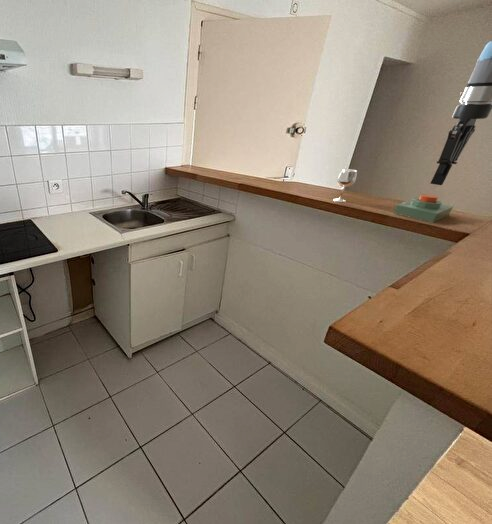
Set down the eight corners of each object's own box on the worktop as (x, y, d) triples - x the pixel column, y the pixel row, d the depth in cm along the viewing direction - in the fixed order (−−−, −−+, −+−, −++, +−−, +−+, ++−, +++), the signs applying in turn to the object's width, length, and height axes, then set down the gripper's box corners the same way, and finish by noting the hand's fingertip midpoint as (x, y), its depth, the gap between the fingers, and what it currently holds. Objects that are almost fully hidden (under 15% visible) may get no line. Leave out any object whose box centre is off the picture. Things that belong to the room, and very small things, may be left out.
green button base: (410, 207, 107) (416, 194, 104) (448, 215, 99) (456, 201, 96) (392, 213, 101) (399, 199, 98) (432, 222, 92) (440, 208, 90)
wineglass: (335, 202, 112) (346, 171, 106) (328, 198, 117) (338, 168, 111) (350, 202, 112) (362, 171, 106) (342, 198, 117) (353, 168, 111)
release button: (421, 199, 100) (424, 193, 99) (437, 202, 97) (440, 196, 96) (416, 201, 98) (418, 195, 97) (432, 204, 95) (435, 198, 94)
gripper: (466, 103, 89) (429, 179, 100) (450, 104, 83) (413, 184, 94) (501, 103, 83) (458, 183, 94) (486, 103, 77) (443, 189, 89)
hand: (436, 184), depth 94 cm, fingers closed
